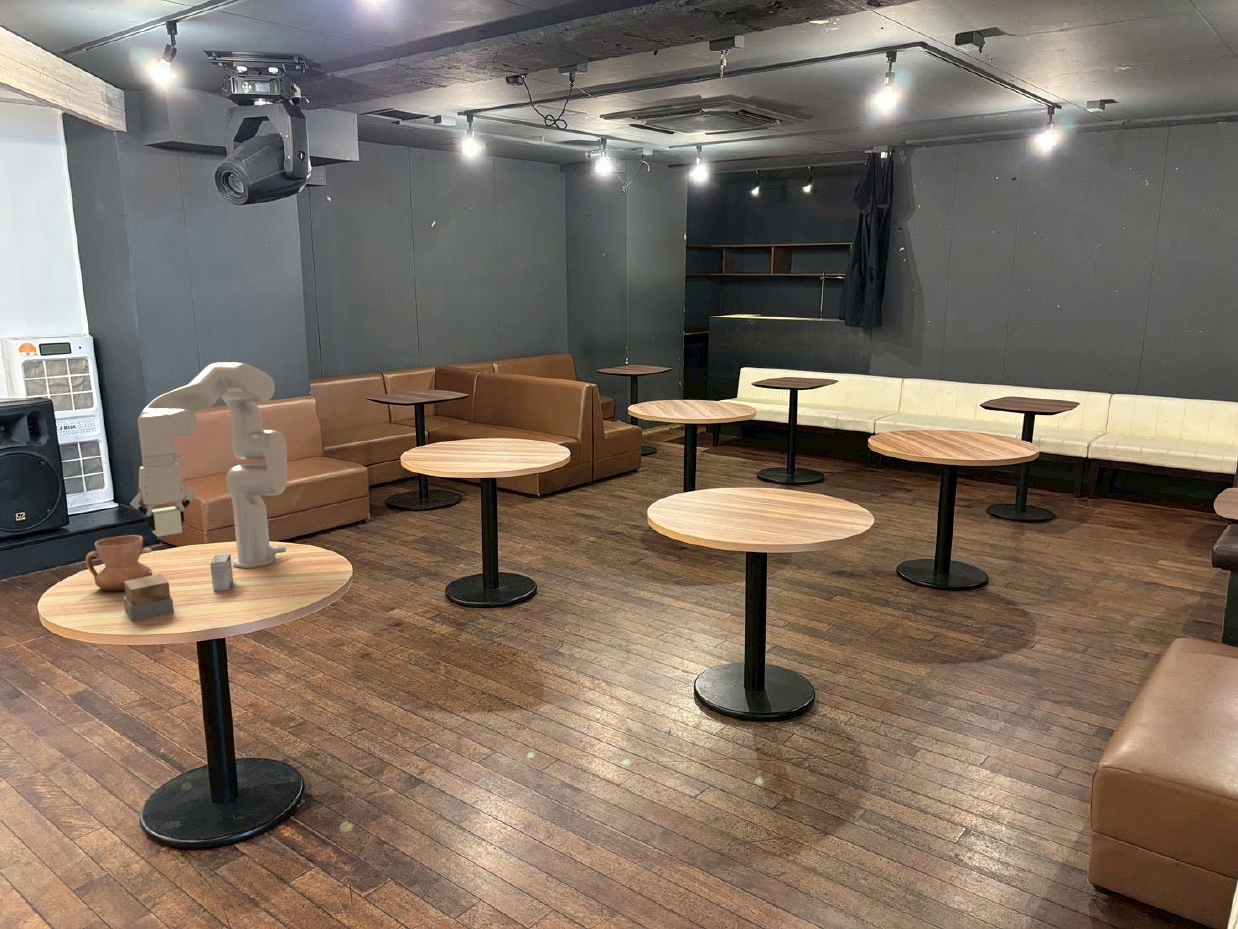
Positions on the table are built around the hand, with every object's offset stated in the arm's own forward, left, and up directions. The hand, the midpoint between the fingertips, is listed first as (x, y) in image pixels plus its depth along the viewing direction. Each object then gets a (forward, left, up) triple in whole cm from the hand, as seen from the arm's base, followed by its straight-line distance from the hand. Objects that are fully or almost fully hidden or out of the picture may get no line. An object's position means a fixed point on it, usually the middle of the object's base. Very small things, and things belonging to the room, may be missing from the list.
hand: (166, 526), depth 229 cm
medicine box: (-15, -13, -24) cm, 31 cm away
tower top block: (+6, -4, -19) cm, 21 cm away
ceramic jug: (+8, -32, -24) cm, 41 cm away
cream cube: (0, 0, -1) cm, 1 cm away
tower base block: (+6, -4, -24) cm, 25 cm away
